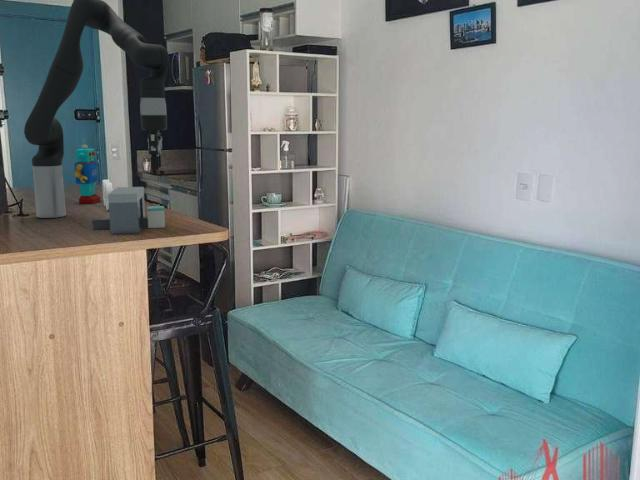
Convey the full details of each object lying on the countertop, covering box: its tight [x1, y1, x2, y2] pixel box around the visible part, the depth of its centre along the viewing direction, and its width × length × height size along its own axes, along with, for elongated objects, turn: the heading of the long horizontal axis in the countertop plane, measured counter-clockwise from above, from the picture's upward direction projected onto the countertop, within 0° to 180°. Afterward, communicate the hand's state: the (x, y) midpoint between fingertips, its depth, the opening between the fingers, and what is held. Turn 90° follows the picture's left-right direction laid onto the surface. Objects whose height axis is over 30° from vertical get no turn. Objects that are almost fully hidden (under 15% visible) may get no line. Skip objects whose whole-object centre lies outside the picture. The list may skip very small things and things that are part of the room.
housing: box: [108, 186, 146, 235], centre depth 193 cm, size 18×8×12 cm, turn 9°
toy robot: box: [74, 138, 102, 205], centre depth 249 cm, size 12×6×25 cm, turn 179°
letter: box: [101, 179, 114, 212], centre depth 236 cm, size 22×2×10 cm, turn 22°
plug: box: [92, 205, 166, 231], centre depth 195 cm, size 4×21×6 cm, turn 104°
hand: (156, 168), depth 192 cm, fingers open, 8 cm apart
